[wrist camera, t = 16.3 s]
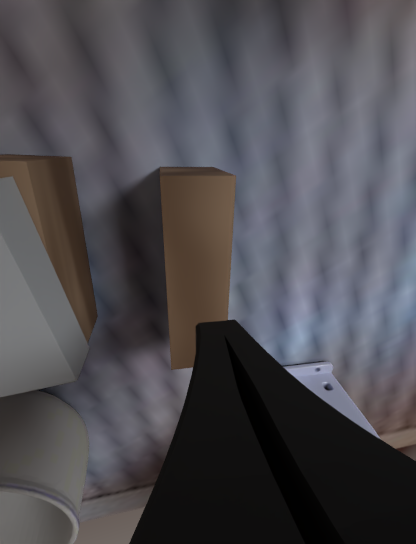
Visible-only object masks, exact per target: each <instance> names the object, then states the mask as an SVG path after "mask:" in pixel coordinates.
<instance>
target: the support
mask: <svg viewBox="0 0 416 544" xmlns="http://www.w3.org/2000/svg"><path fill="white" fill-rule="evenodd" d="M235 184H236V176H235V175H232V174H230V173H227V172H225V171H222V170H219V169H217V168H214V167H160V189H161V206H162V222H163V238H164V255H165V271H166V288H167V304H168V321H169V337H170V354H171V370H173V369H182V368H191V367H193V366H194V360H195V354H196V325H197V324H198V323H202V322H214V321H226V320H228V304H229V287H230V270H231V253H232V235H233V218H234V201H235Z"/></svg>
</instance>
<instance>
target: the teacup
mask: <svg viewBox="0 0 416 544" xmlns="http://www.w3.org/2000/svg"><path fill="white" fill-rule="evenodd" d="M88 454H89V437H88V431H87V428H86V425H85V423H84V421H83V419H82V418H81V416H80V415H79V414H78V413H77V412H76V410H75V409H73V408H72V407H71V406H70V405H68V404H67V403H65V402H63V401H62V400H60V399H59V398H57V397H55V396H53V395H50V394H48V393H45V392H41V391H36V390H33V391H28V392H23V393H18V394H14V395H9V396H4V397H0V544H74V542H75V540H76V538H77V535H78V531H79V522H80V521H79V513H80V507H81V502H82V496H83V490H84V484H85V478H86V471H87V462H88Z"/></svg>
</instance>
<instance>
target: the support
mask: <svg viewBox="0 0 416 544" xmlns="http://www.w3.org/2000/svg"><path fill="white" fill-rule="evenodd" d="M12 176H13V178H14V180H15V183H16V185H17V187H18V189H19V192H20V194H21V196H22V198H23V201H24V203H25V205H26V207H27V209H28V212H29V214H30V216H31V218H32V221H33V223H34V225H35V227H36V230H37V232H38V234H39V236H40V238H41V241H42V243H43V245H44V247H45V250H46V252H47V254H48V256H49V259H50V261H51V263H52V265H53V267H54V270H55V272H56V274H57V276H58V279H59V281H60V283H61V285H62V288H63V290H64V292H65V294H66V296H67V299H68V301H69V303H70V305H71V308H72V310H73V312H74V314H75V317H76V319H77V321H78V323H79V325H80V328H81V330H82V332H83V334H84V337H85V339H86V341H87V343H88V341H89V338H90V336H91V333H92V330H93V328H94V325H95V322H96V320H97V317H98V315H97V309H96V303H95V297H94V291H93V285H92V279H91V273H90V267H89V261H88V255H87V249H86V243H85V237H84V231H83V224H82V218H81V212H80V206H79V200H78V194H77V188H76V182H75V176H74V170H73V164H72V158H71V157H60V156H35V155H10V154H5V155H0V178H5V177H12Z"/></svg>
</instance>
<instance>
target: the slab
mask: <svg viewBox="0 0 416 544" xmlns="http://www.w3.org/2000/svg"><path fill="white" fill-rule="evenodd" d="M89 349H90V348H89V346H88V343H87V341H86V339H85V337H84V334H83V332H82V330H81V328H80V325H79V323H78V321H77V319H76V317H75V314H74V312H73V310H72V308H71V305H70V303H69V301H68V299H67V296H66V294H65V292H64V290H63V288H62V285H61V283H60V281H59V279H58V276H57V274H56V272H55V270H54V267H53V265H52V263H51V261H50V259H49V256H48V254H47V252H46V250H45V247H44V245H43V243H42V241H41V238H40V236H39V234H38V232H37V230H36V227H35V225H34V223H33V221H32V218H31V216H30V214H29V212H28V209H27V207H26V205H25V203H24V201H23V198H22V196H21V194H20V192H19V189H18V187H17V185H16V183H15V180H14V178H13V176H12V177H5V178H0V397H4V396H9V395H14V394H18V393H23V392H28V391H33V390H37V389H42V388H47V387H52V386H57V385H61V384H66V383H71V382H76V381H77V380H78V378H79V375H80V372H81V370H82V367H83V365H84V362H85V359H86V357H87V354H88V351H89Z"/></svg>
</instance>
